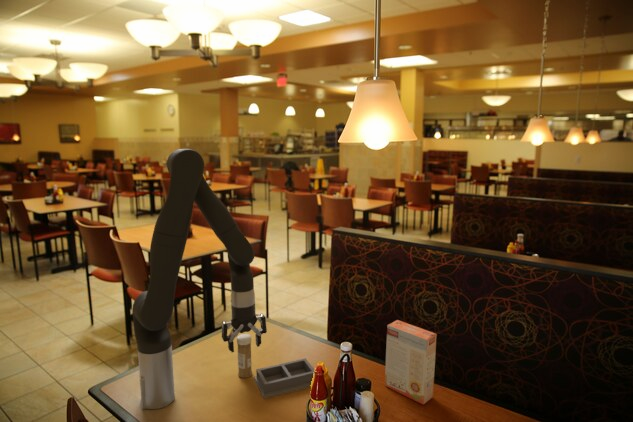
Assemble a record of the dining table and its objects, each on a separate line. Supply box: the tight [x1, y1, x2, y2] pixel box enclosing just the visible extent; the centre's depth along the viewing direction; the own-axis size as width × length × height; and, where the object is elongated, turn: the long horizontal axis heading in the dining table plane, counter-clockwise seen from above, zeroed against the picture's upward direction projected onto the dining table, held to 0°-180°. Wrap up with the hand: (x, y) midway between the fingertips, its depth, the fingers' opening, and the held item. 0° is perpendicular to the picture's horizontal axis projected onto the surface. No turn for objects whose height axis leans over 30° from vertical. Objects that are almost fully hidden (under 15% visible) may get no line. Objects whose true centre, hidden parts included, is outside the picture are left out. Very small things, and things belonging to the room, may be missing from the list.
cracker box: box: [384, 319, 438, 406], centre depth 128 cm, size 14×6×21 cm, turn 45°
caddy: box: [253, 358, 315, 400], centre depth 134 cm, size 18×11×4 cm, turn 114°
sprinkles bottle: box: [236, 333, 253, 379], centre depth 137 cm, size 5×5×14 cm
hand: (245, 348), depth 137 cm, fingers open, 8 cm apart
